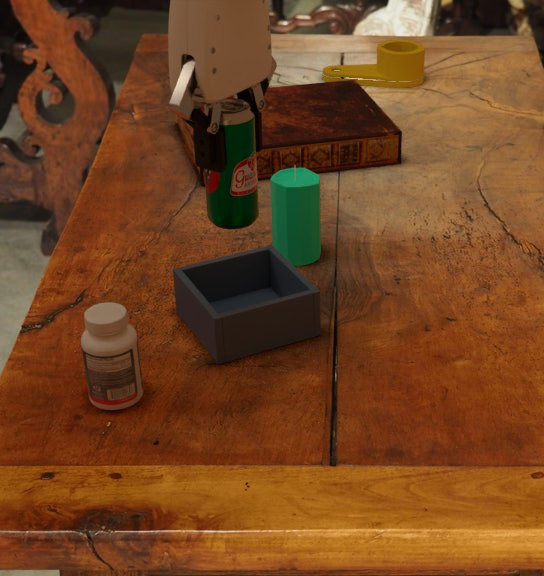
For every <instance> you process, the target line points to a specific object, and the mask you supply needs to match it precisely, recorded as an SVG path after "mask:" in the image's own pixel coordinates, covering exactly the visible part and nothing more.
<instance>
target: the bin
mask: <svg viewBox="0 0 544 576" xmlns="http://www.w3.org/2000/svg"><path fill="white" fill-rule="evenodd" d="M172 277H173V286H174V287H173V288H174V299H175V310H176V313H177V314H178V316H179V317H180V318H181V319H182V321H183V322H184V323H185V325H186V326H187V327H188V329H189V330H190V331H191V332H192V334H193V335H194V336H195V338H196V339H197V340H198V341H199V343H200V344H201V345H202V346H203V348H204V349H205V350H206V351H207V353H208V354H209V355H210V356H211V358H212V359H213V361H215V363H216V364H217V365H221V364H225V363H228V362H232V361H235V360H238V359H243V358H246V357H249V356H253V355H256V354H260V353H263V352H267V351H270V350H273V349H277V348H280V347H283V346H284V347H285V346H287V345H290V344H295V343H298V342H301V341H305V340H309V339H312V338H315V337H320V336H321V335H322V334H321V327H322V326H321V291H320V289H319V288H317V287H316V286H315V284H314V283H313V282H311V280H309V278H308V277H306V276H305V275H304V273H302V272H301V271H300V270H299V269H298V268H297V266H294V265H293V264H292V263H290V262H289V261H288V260H287V259H286V258H285V257H284V256H283V255H282V254H281V253H280V252H279V251H278V250H277V249H276V248H275V247H274V246H273V244H269V245H267V246H261V247H258V248H253V249H250V250H246V251H241V252H238V253H234V254H229V255H225V256H221V257H217V258H212V259H208V260H204V261H200V262H196V263H195V262H194V263H191V264H187V265H184V266H183V265H182V266H180V267H175V268H172Z"/></svg>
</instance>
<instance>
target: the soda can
mask: <svg viewBox="0 0 544 576" xmlns="http://www.w3.org/2000/svg"><path fill="white" fill-rule="evenodd" d="M208 110H209V105H207V104H205V105H204V113H205V114H206V115H207V116H208ZM219 131H223V132H224V143H225V160H226V169H225V170H224V171H223V172H221V173H219V172H215V171H212V170H208V169H204V172H205V186H204V188H205V198H206V199H205V200H206V201H205V202H206V214H207V215H206V216H207V219H208V220H209V222H210V223H211V224H212V225H214V226H215V227H217V228H219V229H224V230H241V229H245V228H248V227H250V226H252V225H253V224H254V223H255V222H256V221H257V219H258V218H259V216H260V207H259V206H260V205H259V185H258V183H259V182H258V181H259V180H257V157H256V133H255V115H254V113H253V112H252V110H251V109H250V104H249V103H248V102H247V101H245V100H242V99H236V98H226V99H223V100H222V107H221V115H220V123H219Z"/></svg>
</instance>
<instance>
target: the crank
mask: <svg viewBox="0 0 544 576" xmlns="http://www.w3.org/2000/svg"><path fill="white" fill-rule="evenodd" d="M425 52H426V46H425V45H424V44H423V43H421V42H419V41H416V40H411V39H390V40H385V41H381V42H379V43H377V45H376V63H366V64H365V63H364V64H362V63H361V64H338V65H328V66H325V67H323V68H322V81H324V82H334V81H345V80H356V81H357V83H358V84H359V85H360V86H369V87H384V88H397V89H402V88H403V89H405V88H414V87H417V86H420V85H421V84H423V83H424V80H425V59H426V58H425V57H426V56H425V55H426V53H425ZM334 70H340V71H334ZM323 74H324V75H326V76H329V77H326V76H324V75H323ZM423 75H424V76H423ZM422 76H423V78H421V77H422ZM330 77H349V78H363V79H376V80H378V79H380V80H385V81H373V80H358V79H342V78H330ZM419 78H421V79H419ZM416 79H419V80H416ZM411 80H412V82H399V81H411ZM413 80H416V81H413ZM388 81H396V82H388Z"/></svg>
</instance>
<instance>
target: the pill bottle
mask: <svg viewBox="0 0 544 576" xmlns="http://www.w3.org/2000/svg"><path fill="white" fill-rule="evenodd" d="M83 320H84V327H85V329H84V331H83V333H82V334H81V336H80V350H81V353H82V360H83V366H84V374H85V380H86V388H87V393H88V399H89V401H90V403H91V404H92V405H93V406H95V408H98V409H100V410H105V411H119V410H124V409H127V408H130V407H131V406H134V405H136V404H137V403H138V402H139V401H140V400H141V399H142V397H143V395H144V382H143V381H144V380H143V375H142V374H143V373H142V365H141V358H140V348H139V347H140V346H139V339H138V333H137V330H136V329H135V327H134V326H133V325H131V324H130V323H129V317H128V311H127V309H126V307H125V306H124V305H123V304H120V303H117V302H99V303H96V304H94V305H92V306H90V307H88V308H87V309H86V310H85V311H84V314H83Z"/></svg>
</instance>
